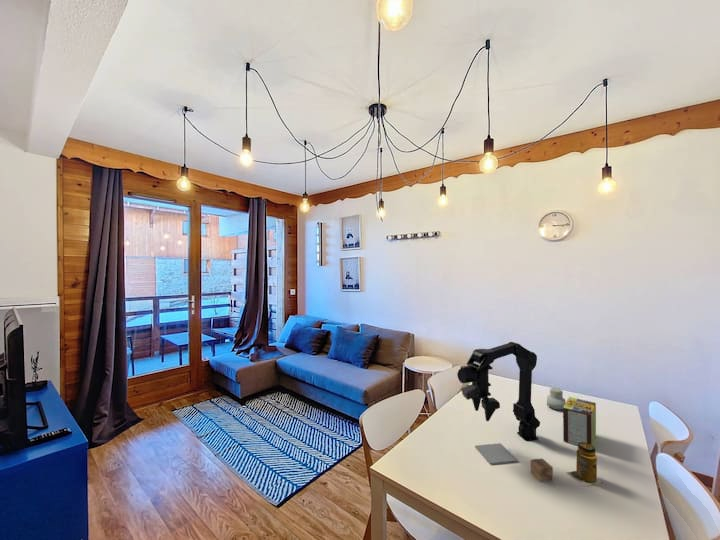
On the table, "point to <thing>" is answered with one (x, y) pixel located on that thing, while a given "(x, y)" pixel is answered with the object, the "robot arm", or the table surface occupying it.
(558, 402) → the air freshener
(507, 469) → the table surface
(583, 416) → the protein box
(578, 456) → the condiment
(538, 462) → the walnut cube
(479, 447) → the slate pad
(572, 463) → the table surface
